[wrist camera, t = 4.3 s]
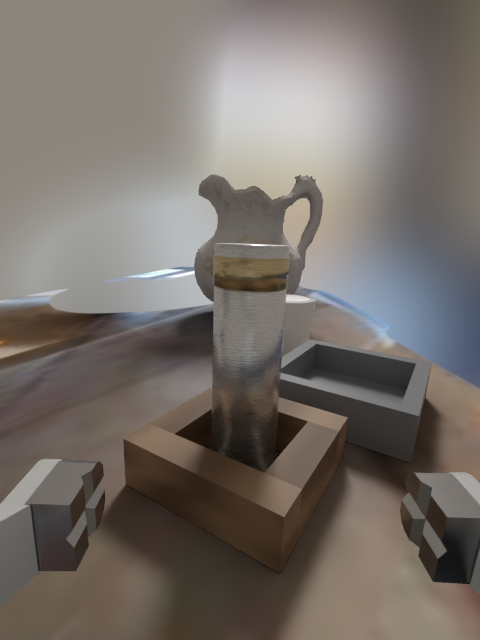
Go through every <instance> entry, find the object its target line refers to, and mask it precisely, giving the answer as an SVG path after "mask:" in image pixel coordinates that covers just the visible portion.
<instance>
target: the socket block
mask: <svg viewBox="0 0 480 640" xmlns="http://www.w3.org/2000/svg"><path fill="white" fill-rule="evenodd" d="M347 421H348V417H344V416H341V415H338V414H334V413H331V412H328V411H324V410H321V409H317V408H314V407H311V406H307V405H304V404H301V403H297V402H294V401H291V400H287V399H284V398H280V397H279V406H278V421H277V436H276V450H275V451H277V452H280V453H281V454H280V455H279V456H278V458H277V459H276V460H275V461H274V462H273V463H272V465H271V466H270V467H269V468H268V469H267V471H266V472H265V473H264V472H261V471H259V470H257V469H254V468H252V467H250V466H247V465H245V464H243V463H240V462H238V461H236V460H233V459H231V458H229V457H226V456H224V455H222V454H219V453H217V452H215V451H212V450H210V448H211V434H212V387H211V388H210V389H208V390H206V391H205V392H203V393H201V394H199V395H198V396H196V397H194V398H193V399H191V400H189V401H187V402H186V403H184V404H182V405H181V406H179V407H177V408H175V409H174V410H172V411H170V412H169V413H167V414H165V415H163V416H162V417H160V418H158V419H157V420H155V421H153V422H151V423H150V424H148V425H146V426H145V427H143V428H141V429H139V430H138V431H136V432H134V433H133V434H131V435H129V436H127V437H126V438H124V459H125V478H126V484H127V485H128V486H130V487H132V488H134V489H135V490H137V491H139V492H140V493H142V494H144V495H146V496H147V497H149V498H151V499H152V500H154V501H156V502H158V503H159V504H161V505H163V506H164V507H166V508H168V509H170V510H171V511H173V512H175V513H176V514H178V515H180V516H182V517H183V518H185V519H187V520H188V521H190V522H192V523H194V524H195V525H197V526H199V527H200V528H202V529H204V530H206V531H207V532H209V533H211V534H212V535H214V536H216V537H218V538H219V539H221V540H223V541H224V542H226V543H228V544H230V545H231V546H233V547H235V548H236V549H238V550H240V551H242V552H243V553H245V554H247V555H249V556H250V557H252V558H254V559H255V560H257V561H259V562H261V563H262V564H264V565H266V566H267V567H269V568H271V569H273V570H274V571H276V572H278V573H279V574H280V572H281V570H282V568H283V567H284V565H285V563H286V561H287V559H288V557H289V556H290V554H291V552H292V550H293V548H294V546H295V545H296V543H297V541H298V539H299V537H300V535H301V534H302V532H303V530H304V528H305V526H306V524H307V523H308V521H309V519H310V517H311V515H312V513H313V512H314V510H315V508H316V506H317V504H318V502H319V500H320V499H321V497H322V495H323V493H324V491H325V489H326V488H327V486H328V484H329V482H330V480H331V478H332V477H333V475H334V473H335V471H336V469H337V467H338V466H339V464H340V462H341V460H342V458H343V454H344V445H345V437H346V429H347Z"/></svg>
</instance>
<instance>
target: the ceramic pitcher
mask: <svg viewBox="0 0 480 640" xmlns="http://www.w3.org/2000/svg"><path fill="white" fill-rule="evenodd" d="M295 179H296V184H295V185H294V187H293V189H292V191H291V192H290V193H289V195H287V196H282V197H279V198H277V199H274V200H272V199H270V197H269V196H268V195H267V194H266V193H265V192H264V191H262V190H261V189H260V188H258V187H256V186H251V187H249V188H247V189H244V190H235V189H233V187H231V185H230V184H229V183H228V181H227V180H226V179H225V178H223V177H220V176H218V175H210V176H209V177H208V178H206V179H205V180H203V181H202V182H201V184H200V186H199V195H200V196H202V197H204V198H206V199H208V200H209V201H210V202H211V204H212V205H213V206H214V208H215V210H216V212H217V215H218V225H217V230H216V232H215V235H214V236H213V237H212V238H211V239H210V240H208V241H207V242H206V243H205V244H204V245H203V246H202V247H201V248H200V249H198V252H197V254H196V258H195V265H194V269H195V277H196V280H197V283H198V285H199V287H200V289H201V290H202V292H203V294H204V295H205V296H206V297H207V298H208V299H210V300H211V301H213V302H214V285H213V263H214V254H215V243H242V244H267V245H284V246H289V273H288V288H287V289H286V293H287V294H294V293H295V291H296V290H297V288H298V286H299V282H300V279H301V274H302V271H303V269H304V267H305V253H306V249H307V247H308V246H309V245H310V244H311V242H312V240H313V238H314V236H315V233H316V231H317V229H318V227H319V224H320V221H321V216H322V206H323V199H322V194H321V192H320V190H319V189H318V187H317V186H316V183H315V180H313V178H312V177H308V176H302V177H301V175H300V176H298V177H295ZM300 198H307V199H308V200H309V202H310V219H309V222H308V224H307V226H306V228H305V230H304V232H303V234H302V237H301V240H300V242H299V245H298V246H297V248H294V247H293V246H292V245H291V244H290V243H289V242H288V241H287V240H286V238H285V236H284V234H283V222H284V215H285V210H286V209H287V208H288V207H289V206H290V205H292V204H293V203H294V202H295V201H296V200H298V199H300ZM213 313H214V311H213Z"/></svg>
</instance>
